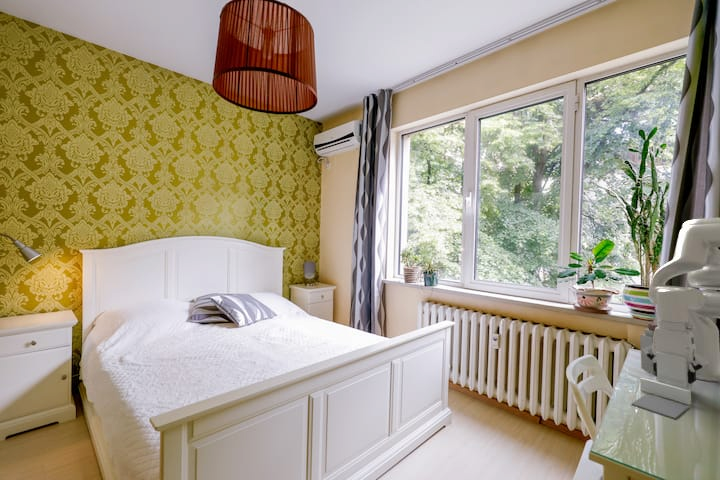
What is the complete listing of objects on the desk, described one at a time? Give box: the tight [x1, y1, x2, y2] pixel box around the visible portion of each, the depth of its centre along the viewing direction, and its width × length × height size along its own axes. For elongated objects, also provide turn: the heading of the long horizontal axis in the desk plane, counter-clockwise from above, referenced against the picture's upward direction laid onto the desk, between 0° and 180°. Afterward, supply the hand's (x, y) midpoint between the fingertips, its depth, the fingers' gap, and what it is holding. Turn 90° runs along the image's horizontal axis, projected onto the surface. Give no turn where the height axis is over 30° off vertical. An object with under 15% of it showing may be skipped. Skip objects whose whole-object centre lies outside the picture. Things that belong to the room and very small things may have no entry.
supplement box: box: [656, 351, 693, 392], centre depth 109 cm, size 7×7×13 cm
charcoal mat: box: [631, 393, 690, 420], centre depth 99 cm, size 12×10×1 cm
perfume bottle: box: [639, 323, 658, 376], centre depth 125 cm, size 7×7×18 cm
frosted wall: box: [639, 377, 692, 406], centre depth 105 cm, size 1×12×4 cm, turn 31°
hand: (674, 378), depth 109 cm, fingers closed on supplement box, 7 cm apart
